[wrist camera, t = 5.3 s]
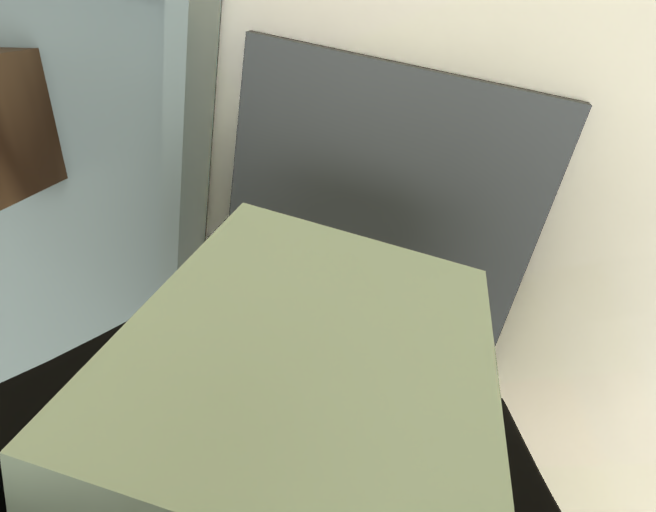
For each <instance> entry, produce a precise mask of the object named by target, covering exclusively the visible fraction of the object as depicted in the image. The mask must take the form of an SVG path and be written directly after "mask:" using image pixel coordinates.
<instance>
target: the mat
mask: <svg viewBox="0 0 656 512" xmlns="http://www.w3.org/2000/svg"><path fill="white" fill-rule="evenodd" d="M591 107H592V105H591V104H590V103H589V102H584V101H579V100H575V99H570V98H565V97H561V96H556V95H551V94H546V93H542V92H537V91H532V90H528V89H523V88H518V87H514V86H509V85H504V84H500V83H495V82H490V81H485V80H481V79H476V78H471V77H467V76H462V75H457V74H453V73H448V72H443V71H438V70H434V69H429V68H424V67H420V66H415V65H410V64H406V63H401V62H396V61H392V60H387V59H382V58H377V57H373V56H368V55H363V54H359V53H354V52H349V51H345V50H340V49H335V48H331V47H326V46H321V45H316V44H312V43H307V42H302V41H298V40H293V39H288V38H284V37H279V36H274V35H270V34H265V33H260V32H255V31H247V32H246V38H245V49H244V60H243V71H242V82H241V93H240V104H239V115H238V125H237V136H236V147H235V158H234V169H233V180H232V191H231V202H230V213H229V216H230V215H231V214H232V213H233V212H234V211H235V210H236V209H237V208H238V207H239V206H240V205H241V204H242V203H247V204H250V205H254V206H257V207H261V208H264V209H268V210H271V211H275V212H278V213H282V214H285V215H289V216H293V217H296V218H300V219H303V220H307V221H310V222H314V223H317V224H321V225H324V226H328V227H331V228H335V229H339V230H342V231H346V232H349V233H353V234H356V235H360V236H363V237H367V238H370V239H374V240H377V241H381V242H385V243H388V244H392V245H395V246H399V247H402V248H406V249H409V250H413V251H416V252H420V253H423V254H427V255H431V256H434V257H438V258H441V259H445V260H448V261H452V262H455V263H459V264H462V265H466V266H469V267H473V268H477V269H480V270H484V271H486V279H487V287H488V296H489V304H490V312H491V321H492V329H493V337H494V345H496V343H497V340H498V338H499V335H500V333H501V330H502V328H503V325H504V323H505V320H506V318H507V315H508V313H509V310H510V308H511V306H512V303H513V301H514V298H515V296H516V293H517V291H518V288H519V286H520V283H521V281H522V278H523V276H524V273H525V271H526V268H527V266H528V263H529V261H530V258H531V256H532V253H533V251H534V248H535V246H536V243H537V241H538V238H539V236H540V233H541V231H542V228H543V226H544V224H545V221H546V219H547V216H548V214H549V211H550V209H551V206H552V204H553V201H554V199H555V196H556V194H557V191H558V189H559V186H560V184H561V181H562V179H563V176H564V174H565V171H566V169H567V166H568V164H569V161H570V159H571V156H572V154H573V151H574V149H575V147H576V144H577V142H578V139H579V137H580V134H581V132H582V129H583V127H584V124H585V122H586V119H587V117H588V114H589V112H590V109H591Z"/></svg>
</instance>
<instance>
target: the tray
mask: <svg viewBox="0 0 656 512" xmlns="http://www.w3.org/2000/svg"><path fill="white" fill-rule="evenodd" d="M221 1H222V0H0V47H13V48H39V52H40V57H41V61H42V66H43V70H44V74H45V79H46V83H47V88H48V92H49V97H50V101H51V105H52V110H53V114H54V119H55V123H56V128H57V132H58V136H59V141H60V145H61V150H62V154H63V159H64V163H65V167H66V172H67V176H68V178H67V179H65V180H63V181H61V182H59V183H57V184H55V185H53V186H51V187H49V188H46V189H44V190H42V191H40V192H38V193H36V194H34V195H32V196H30V197H28V198H26V199H24V200H22V201H20V202H18V203H16V204H14V205H11V206H9V207H7V208H5V209H3V210H1V211H0V383H1V382H3V381H6V380H8V379H10V378H12V377H14V376H17V375H19V374H21V373H23V372H25V371H28V370H30V369H32V368H34V367H37V366H39V365H41V364H43V363H45V362H47V361H49V360H51V359H53V358H55V357H57V356H59V355H61V354H63V353H65V352H67V351H69V350H71V349H73V348H75V347H77V346H79V345H81V344H83V343H85V342H87V341H89V340H91V339H93V338H95V337H97V336H99V335H101V334H103V333H105V332H107V331H109V330H111V329H113V328H115V327H117V326H119V325H120V324H122V323H124V322H126V321H128V320H129V319H130V318H131V317H132V316H133V315H134V314H135V313H136V312H137V311H138V310H139V309H140V308H141V307H142V306H143V305H144V304H145V302H146V301H147V300H148V299H149V298H150V297H151V296H152V295H153V294H154V293H155V292H156V291H157V290H158V289H159V288H160V287H161V286H162V285H163V284H164V283H165V282H166V281H167V280H168V279H169V278H170V277H171V276H172V275H173V274H174V273H175V272H176V271H177V270H178V269H179V268H180V267H181V265H182V264H183V263H184V262H185V261H186V260H187V259H188V258H189V257H190V256H191V255H192V254H193V253H194V252H195V251H196V250H197V249H198V248H199V247H200V246H201V245H202V244H203V243H204V242H205V232H206V217H207V203H208V188H209V174H210V160H211V145H212V131H213V116H214V102H215V88H216V73H217V59H218V44H219V30H220V15H221Z"/></svg>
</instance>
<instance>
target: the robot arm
mask: <svg viewBox="0 0 656 512" xmlns="http://www.w3.org/2000/svg"><path fill="white" fill-rule="evenodd" d="M126 322H127V321H126ZM126 322H124V323H122V324H120V325H119V326H117V327H115V328H113V329H111V330H109V331H107V332H105V333H103V334H101V335H99V336H97V337H95V338H93V339H91V340H89V341H87V342H85V343H83V344H81V345H79V346H77V347H75V348H73V349H71V350H69V351H67V352H65V353H63V354H61V355H59V356H57V357H55V358H53V359H51V360H49V361H47V362H45V363H43V364H41V365H39V366H37V367H34V368H32V369H30V370H28V371H25V372H23V373H21V374H19V375H17V376H14V377H12V378H10V379H8V380H6V381H3V382H1V383H0V452H1V450H2V449H3V448H4V447H5V446H6V445H7V444H8V443H9V442H10V441H11V440H12V439H13V438H14V437H15V436H16V435H17V434H18V433H19V432H20V431H21V430H22V429H23V428H24V427H25V426H26V425H27V424H28V423H29V422H30V421H31V420H32V419H33V418H34V417H35V416H36V415H37V413H38V412H39V411H40V410H41V409H42V408H43V407H44V406H45V405H46V404H47V403H48V402H49V401H50V400H51V399H52V398H53V397H54V396H55V395H56V394H57V393H58V392H59V391H60V390H61V389H62V388H63V387H64V386H65V385H66V384H67V383H68V382H69V381H70V380H71V379H72V378H73V376H74V375H75V374H76V373H77V372H78V371H79V370H80V369H81V368H82V367H83V366H84V365H85V364H86V363H87V362H88V361H89V360H90V359H91V358H92V357H93V356H94V355H95V354H96V353H97V352H98V351H99V350H100V349H101V348H102V347H103V346H104V345H105V344H106V343H107V342H108V341H109V339H110V338H111V337H112V336H113V335H114V334H115V333H116V332H117V331H118V330H119V329H120V328H121V327H122V326H123V325H124V324H125V323H126ZM501 403H502V411H503V420H504V428H505V436H506V445H507V453H508V461H509V469H510V478H511V486H512V494H513V502H514V511H515V512H561V510H560V509H559V507H558V505H557V503H556V501H555V500H554V498H553V496H552V494H551V492H550V491H549V489H548V487H547V485H546V483H545V481H544V479H543V477H542V475H541V473H540V472H539V470H538V468H537V466H536V464H535V462H534V460H533V458H532V456H531V454H530V452H529V450H528V448H527V446H526V444H525V442H524V440H523V438H522V436H521V434H520V432H519V430H518V428H517V426H516V424H515V422H514V420H513V418H512V416H511V414H510V412H509V410H508V408H507V406H506V404H505V402H504V400H503V399H502V398H501ZM0 512H7V509H6V501H5V494H4V486H3V478H2V470H1V462H0Z"/></svg>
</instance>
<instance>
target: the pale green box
mask: <svg viewBox="0 0 656 512" xmlns="http://www.w3.org/2000/svg"><path fill="white" fill-rule="evenodd" d="M0 462H1V470H2V478H3V486H4V494H5V501H6V509H7V512H515V511H514V502H513V494H512V486H511V478H510V469H509V461H508V453H507V445H506V436H505V428H504V420H503V411H502V403H501V395H500V387H499V378H498V370H497V362H496V354H495V345H494V337H493V329H492V321H491V312H490V304H489V296H488V287H487V279H486V271H484V270H480V269H477V268H473V267H469V266H466V265H462V264H459V263H455V262H452V261H448V260H445V259H441V258H438V257H434V256H431V255H427V254H423V253H420V252H416V251H413V250H409V249H406V248H402V247H399V246H395V245H392V244H388V243H385V242H381V241H377V240H374V239H370V238H367V237H363V236H360V235H356V234H353V233H349V232H346V231H342V230H339V229H335V228H331V227H328V226H324V225H321V224H317V223H314V222H310V221H307V220H303V219H300V218H296V217H293V216H289V215H285V214H282V213H278V212H275V211H271V210H268V209H264V208H261V207H257V206H254V205H250V204H247V203H242V204H241V205H240V206H239V207H238V208H237V209H236V210H235V211H234V212H233V213H232V214H231V215H230V216H229V217H228V218H227V219H226V220H225V221H224V222H223V223H222V224H221V225H220V226H219V227H218V228H217V230H216V231H215V232H214V233H213V234H212V235H211V236H210V237H209V238H208V239H207V240H206V241H205V242H204V243H203V244H202V245H201V246H200V247H199V248H198V249H197V250H196V251H195V252H194V253H193V254H192V255H191V256H190V257H189V258H188V259H187V260H186V261H185V262H184V263H183V264H182V265H181V267H180V268H179V269H178V270H177V271H176V272H175V273H174V274H173V275H172V276H171V277H170V278H169V279H168V280H167V281H166V282H165V283H164V284H163V285H162V286H161V287H160V288H159V289H158V290H157V291H156V292H155V293H154V294H153V295H152V296H151V297H150V298H149V299H148V300H147V301H146V302H145V304H144V305H143V306H142V307H141V308H140V309H139V310H138V311H137V312H136V313H135V314H134V315H133V316H132V317H131V318H130V319H129V320H128V321H127V322H126V323H125V324H124V325H123V326H122V327H121V328H120V329H119V330H118V331H117V332H116V333H115V334H114V335H113V336H112V337H111V338H110V339H109V341H108V342H107V343H106V344H105V345H104V346H103V347H102V348H101V349H100V350H99V351H98V352H97V353H96V354H95V355H94V356H93V357H92V358H91V359H90V360H89V361H88V362H87V363H86V364H85V365H84V366H83V367H82V368H81V369H80V370H79V371H78V372H77V373H76V374H75V375H74V376H73V378H72V379H71V380H70V381H69V382H68V383H67V384H66V385H65V386H64V387H63V388H62V389H61V390H60V391H59V392H58V393H57V394H56V395H55V396H54V397H53V398H52V399H51V400H50V401H49V402H48V403H47V404H46V405H45V406H44V407H43V408H42V409H41V410H40V411H39V412H38V413H37V415H36V416H35V417H34V418H33V419H32V420H31V421H30V422H29V423H28V424H27V425H26V426H25V427H24V428H23V429H22V430H21V431H20V432H19V433H18V434H17V435H16V436H15V437H14V438H13V439H12V440H11V441H10V442H9V443H8V444H7V445H6V446H5V447H4V448H3V449H2V450H1V452H0Z"/></svg>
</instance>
